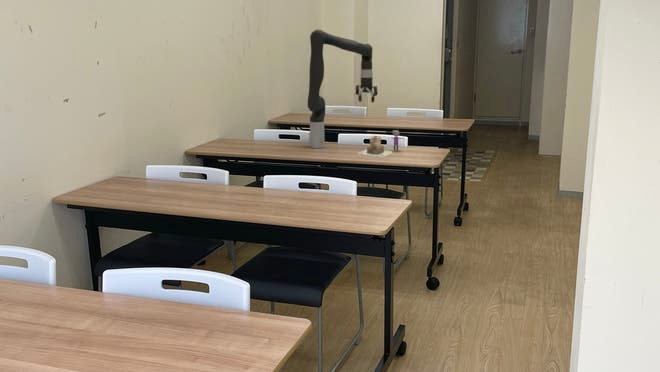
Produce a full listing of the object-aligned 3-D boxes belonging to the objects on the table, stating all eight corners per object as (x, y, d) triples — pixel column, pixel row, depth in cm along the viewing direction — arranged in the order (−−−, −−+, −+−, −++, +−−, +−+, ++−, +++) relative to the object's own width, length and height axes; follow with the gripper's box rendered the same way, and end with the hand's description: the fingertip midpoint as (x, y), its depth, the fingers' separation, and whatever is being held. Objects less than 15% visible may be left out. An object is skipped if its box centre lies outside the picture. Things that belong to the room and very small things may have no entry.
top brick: (370, 146, 385) (370, 136, 384) (373, 145, 390) (373, 134, 388) (377, 147, 383) (377, 137, 381) (380, 145, 387) (380, 135, 385)
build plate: (357, 155, 386) (357, 152, 386) (367, 150, 398) (367, 147, 397) (384, 158, 378) (384, 155, 377) (393, 153, 390) (393, 150, 389)
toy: (404, 152, 393) (404, 128, 389) (404, 154, 388) (404, 130, 383) (387, 151, 394) (387, 128, 390) (387, 154, 389) (387, 130, 384)
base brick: (366, 153, 386) (366, 147, 385) (372, 150, 393) (372, 144, 392) (378, 154, 382) (378, 148, 381) (383, 151, 389) (384, 145, 388)
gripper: (353, 76, 392) (353, 102, 397) (374, 77, 386) (374, 103, 390) (359, 75, 399) (359, 100, 403) (379, 76, 392) (379, 101, 397)
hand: (366, 101), depth 397 cm, fingers open, 8 cm apart
